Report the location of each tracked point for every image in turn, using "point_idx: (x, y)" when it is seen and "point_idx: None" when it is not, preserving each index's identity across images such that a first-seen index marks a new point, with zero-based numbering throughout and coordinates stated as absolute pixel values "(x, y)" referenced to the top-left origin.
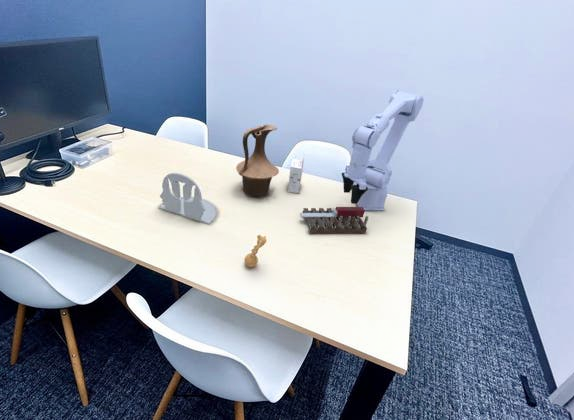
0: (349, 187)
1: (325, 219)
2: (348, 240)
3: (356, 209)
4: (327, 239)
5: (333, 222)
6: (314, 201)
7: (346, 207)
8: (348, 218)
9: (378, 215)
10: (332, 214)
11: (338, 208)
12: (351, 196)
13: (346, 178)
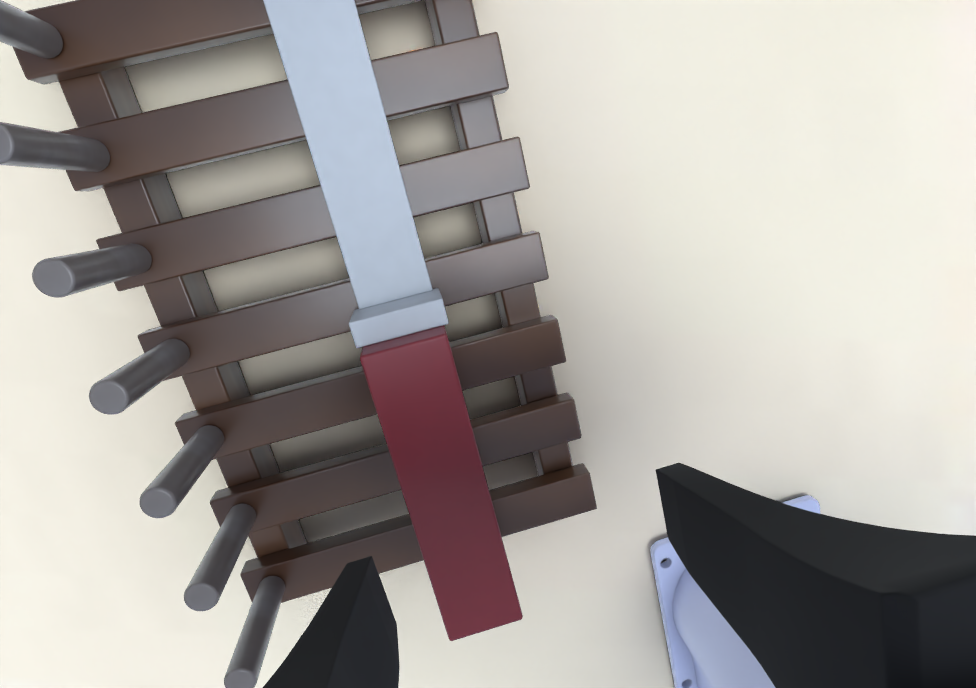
0: (713, 577)
1: (279, 205)
2: (120, 426)
3: (444, 561)
4: (51, 230)
5: (276, 297)
6: (753, 115)
7: (459, 457)
8: (155, 478)
9: (599, 663)
10: (399, 290)
11: (407, 363)
12: (338, 624)
13: (837, 630)
